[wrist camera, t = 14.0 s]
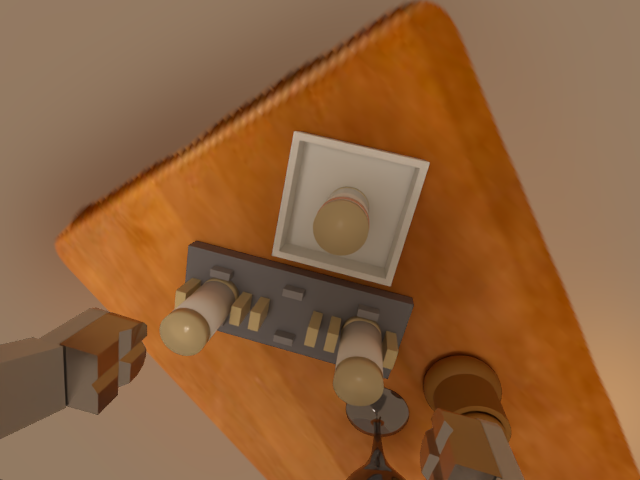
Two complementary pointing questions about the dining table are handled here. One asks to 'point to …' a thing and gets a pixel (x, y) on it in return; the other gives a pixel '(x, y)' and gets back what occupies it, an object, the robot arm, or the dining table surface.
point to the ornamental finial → (466, 390)
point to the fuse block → (295, 304)
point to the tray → (348, 171)
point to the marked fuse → (342, 222)
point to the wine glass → (379, 432)
